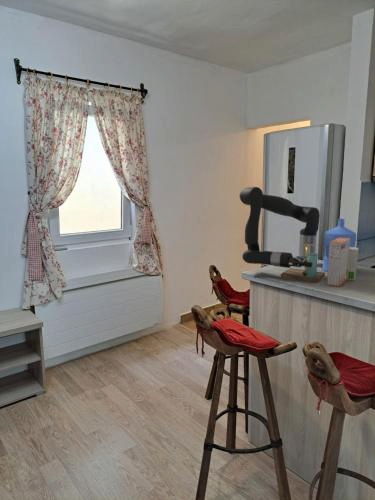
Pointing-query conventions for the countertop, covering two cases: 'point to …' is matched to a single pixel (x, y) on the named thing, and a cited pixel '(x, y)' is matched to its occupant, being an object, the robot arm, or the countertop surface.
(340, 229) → the water jug
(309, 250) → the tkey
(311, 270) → the teal cylinder
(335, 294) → the countertop surface
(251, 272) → the countertop surface
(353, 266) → the skincare box
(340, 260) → the cracker box
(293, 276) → the brown wooden board
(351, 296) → the countertop surface
